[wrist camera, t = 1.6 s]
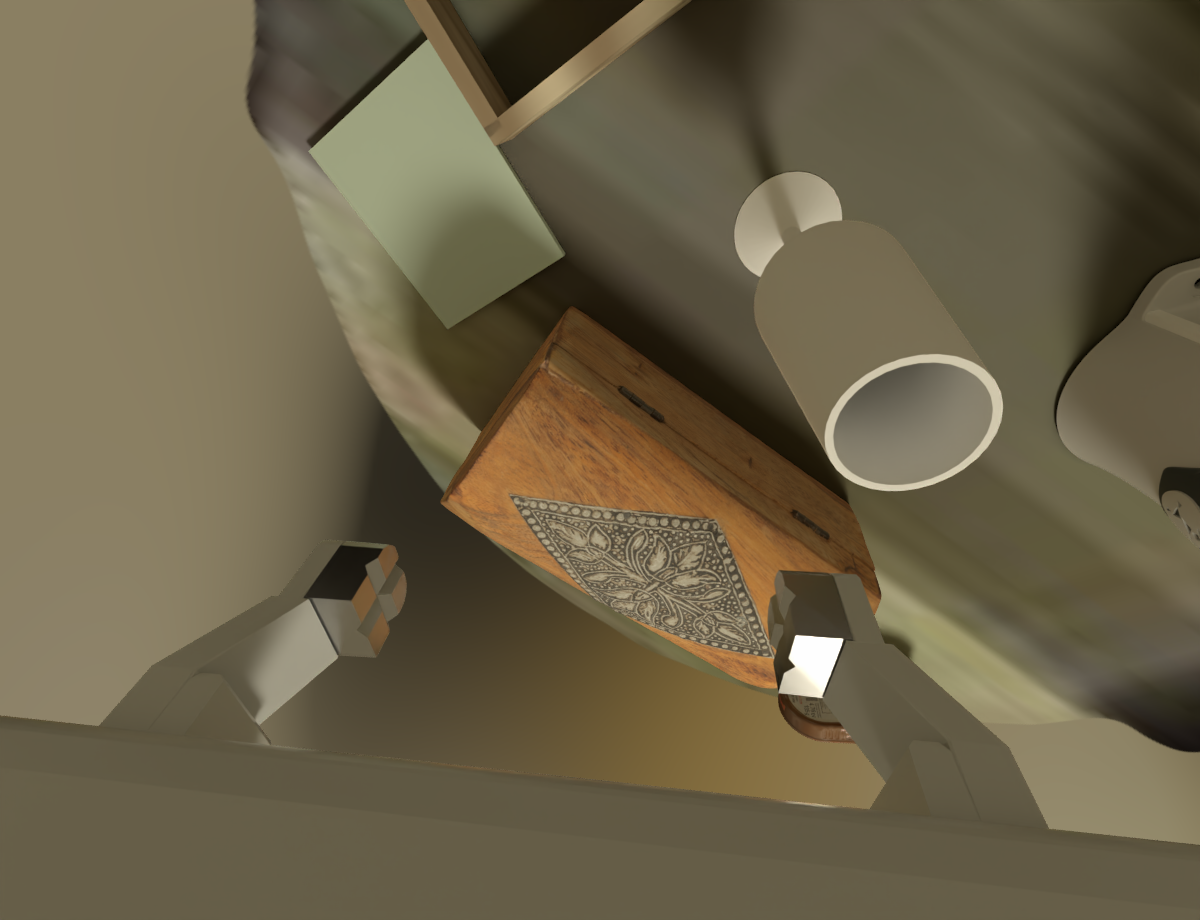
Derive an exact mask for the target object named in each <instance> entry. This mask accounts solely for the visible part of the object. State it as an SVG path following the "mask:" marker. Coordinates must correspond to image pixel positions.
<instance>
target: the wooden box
mask: <svg viewBox="0 0 1200 920" xmlns="http://www.w3.org/2000/svg"><path fill="white" fill-rule="evenodd" d="M441 504H443V505H444V506H445V507H446V508H447V509H449V510H450V511H452V512H453V513H454V514H456V515H457V516H459V517H460V518H461V519H463V520H464V521H466V522H467V523H468V524H470V525H471V526H473V527H474V528H475V529H477V530H478V531H480V532H481V533H483V534H485V535H486V536H488V537H489V538H491V539H493V540H494V541H496V542H498V543H499V544H501V545H503V546H505V547H506V548H508V549H510V550H511V551H513V552H515V553H517V554H518V555H520V556H522V557H524V558H525V559H527V560H529V561H531V562H532V563H534V564H536V565H538V566H539V567H541V568H543V569H545V570H546V571H548V572H550V573H552V574H553V575H555V576H557V577H558V578H560V579H562V580H564V581H565V582H567V583H569V584H570V585H572V586H574V587H576V588H577V589H579V590H581V591H583V592H584V593H586V594H588V595H590V596H591V597H592V598H593V599H594V600H597V601H599V602H601V603H603V604H605V605H607V606H608V607H610V608H612V609H613V610H614V611H616V612H618V613H621V614H623V615H625V616H627V617H629V618H630V619H632V620H634V621H636V622H637V623H639V624H641V625H643V626H645V627H646V628H648V629H650V630H652V631H654V632H655V633H657V634H659V635H661V636H662V637H664V638H666V639H668V640H670V641H671V642H673V643H675V644H677V645H679V646H680V647H682V648H684V649H686V650H687V651H689V652H691V653H693V654H695V655H697V656H698V657H700V658H702V659H704V660H705V661H707V662H709V663H711V664H712V665H714V666H716V667H717V668H719V669H721V670H722V671H724V672H726V673H727V674H729V675H731V676H733V677H735V678H737V679H739V680H741V681H743V682H745V683H748V684H751V685H755V686H758V687H763V688H777V682H776V676H775V671H774V665H773V661H774V658H775V654H776V649H775V648H774V647H773V646H772V645H771V644H770V641H769V634H768V623H767V620H768V607H769V602H770V598H771V597H772V596H773V595H775V594H776V591H775V585H774V581H775V577H776V574H777V572H778V571H779V570H788V571H806V572H824V573H829V574H830V573H840V574H856V575H857V576H858V577H859V578H860V579H861V581H862V584H863V587H864V589H865V592H866V595H867V597H868V600H869V603H870V605H871V608H872V611H873V613H874V615H875V613H876V611H877V608H878V605H879V603H880V600H881V591H880V587H879V584H878V581H877V578H876V575H875V572H874V570H875V567H874V564H873V561H872V559H871V557H870V554H869V551H868V549H867V546H866V544H865V540H864V537H863V534H862V531H861V528H860V525H859V523H858V521H857V519H856V516H855V515H854V513H853V511H852V509H851V507H850V505H849V504H848V503H847V502H846V501H844V500H842V499H841V498H840V497H838V496H837V495H836V494H834V493H833V492H832V491H830V490H829V489H827V488H826V487H825V486H823V485H822V484H821V483H819V482H818V481H817V480H815V479H814V478H812V477H811V476H809V475H807V474H806V473H805V472H804V471H802V470H801V469H800V468H798V467H797V466H795V465H794V464H792V463H791V462H790V461H788V460H787V459H785V458H784V457H783V456H781V455H780V454H778V453H777V452H776V451H774V450H773V449H771V448H770V447H768V446H767V445H766V444H764V443H763V442H762V441H760V440H759V439H758V438H756V437H755V436H753V435H752V434H750V433H749V432H748V431H746V430H745V429H744V428H742V427H741V426H740V425H738V424H737V423H736V422H734V421H733V420H731V419H730V418H729V417H727V416H726V415H724V414H723V413H721V412H720V411H719V410H718V409H716V408H715V407H714V406H712V405H711V404H710V403H708V402H707V401H705V400H704V399H702V398H701V397H700V396H698V395H697V394H696V393H694V392H692V391H691V390H690V389H688V388H687V387H686V386H684V385H683V384H682V383H680V382H679V381H678V380H676V379H675V378H673V377H672V376H671V375H669V374H668V373H666V372H665V371H664V370H662V369H661V368H660V367H658V366H657V365H655V364H654V363H653V362H651V361H650V360H649V359H647V358H646V357H644V356H643V355H642V354H640V353H639V352H638V351H636V350H635V349H634V348H632V347H631V346H629V345H628V344H626V343H625V342H624V341H622V340H621V339H619V338H618V337H617V336H615V335H614V334H613V333H611V332H610V331H608V330H607V329H606V328H604V327H603V326H602V325H600V324H599V323H597V322H596V321H594V320H593V319H592V318H590V317H589V316H587V315H586V314H584V313H583V312H581V311H580V310H578V309H576V308H575V307H573V306H570V307H569V308H568V309H567V311H566V312H565V313H564V315H563V316H562V318H561V319H560V320H559V322H558V323H557V325H556V326H555V327H554V329H553V330H552V332H551V333H550V335H549V336H548V337H547V339H546V340H545V341H544V343H543V344H542V346H541V347H540V348H539V350H538V351H537V353H536V354H535V355H534V357H533V358H532V360H531V361H530V363H529V364H528V365H527V367H526V368H525V370H524V371H523V373H522V374H521V376H520V377H519V378H518V380H517V381H516V383H515V384H514V386H513V387H512V389H511V390H510V392H509V393H508V394H507V396H506V397H505V399H504V400H503V401H502V403H501V404H500V406H499V407H498V409H497V410H496V412H495V413H494V415H493V416H492V418H491V419H490V421H489V422H488V423H487V425H486V426H485V427H484V429H483V430H482V432H481V433H480V435H479V437H478V439H477V441H476V443H475V444H474V446H473V448H472V449H471V451H470V453H469V455H468V456H467V458H466V460H465V461H464V463H463V464H462V465H461V467H460V468H459V470H458V471H457V472H456V474H455V475H454V477H453V479H452V480H451V482H450V484H449V486H448V488H447V490H446V492H445V494H444V496H443V498H442V500H441Z"/></svg>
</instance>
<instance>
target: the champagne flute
mask: <svg viewBox="0 0 1200 920" xmlns="http://www.w3.org/2000/svg"><path fill="white" fill-rule="evenodd" d="M734 240H735V246H736V250H737V253H738V255H739V258H740V259H741V261H742V262H743V264H744V265H745V266H746V267H747V268H748V269H749V270H750V271H751V272H753V273H754V274H756V275H758V276H759V277H760V279H759V282H758V285H757V289H756V293H755V298H754V315H755V322H756V325H757V328H758V330H759V333H760V335H761V337H762V339H763V341H764V343H765V344H766V346H767V348H768V350H769V352H770V353H771V355H772V357H773V359H774V361H775V362H776V364H777V366H778V368H779V370H780V371H781V373H782V375H783V377H784V379H785V380H786V382H787V384H788V386H789V388H790V389H791V391H792V393H793V395H794V397H795V398H796V400H797V402H798V404H799V406H800V407H801V409H802V411H803V413H804V415H805V416H806V418H807V420H808V422H809V424H810V425H811V427H812V429H813V431H814V433H815V434H816V436H817V438H818V440H819V442H820V443H821V445H822V447H823V449H824V451H825V452H826V454H827V456H828V458H829V460H830V461H831V463H832V464H833V465H834V467H835V468H836V470H837V471H839V472H840V473H841V474H842V475H843V476H844V477H845V478H847V479H849V480H851V481H852V482H854V483H856V484H858V485H861V486H864V487H867V488H871V489H877V490H883V491H904V490H911V489H918V488H921V487H925V486H928V485H932V484H935V483H937V482H940V481H942V480H944V479H947V478H949V477H951V476H953V475H954V474H956V473H958V472H959V471H961V470H963V469H964V468H966V467H967V466H968V465H969V464H971V463H972V462H973V461H974V460H976V459H977V458H978V457H979V456H980V455H981V454H982V452H983V451H984V450H985V449H986V448H987V447H988V446H989V444H990V443H991V441H992V439H993V438H994V436H995V435H996V433H997V430H998V428H999V425H1000V422H1001V419H1002V411H1003V402H1002V396H1001V392H1000V390H999V388H998V386H997V384H996V382H995V380H994V378H993V377H992V375H991V374H990V373H989V371H988V370H987V368H986V367H985V365H984V364H983V362H982V361H981V360H980V358H979V357H978V355H977V354H976V352H975V351H974V349H973V348H972V347H971V345H970V344H969V342H968V341H967V339H966V338H965V336H964V335H963V334H962V332H961V331H960V329H959V328H958V326H957V325H956V323H955V322H954V321H953V319H952V318H951V316H950V315H949V313H948V312H947V310H946V309H945V308H944V306H943V305H942V303H941V302H940V300H939V299H938V297H937V296H936V295H935V293H934V292H933V290H932V289H931V287H930V286H929V284H928V283H927V282H926V280H925V279H924V277H923V276H922V274H921V273H920V271H919V270H918V269H917V267H916V266H915V264H914V263H913V261H912V260H911V258H910V257H909V256H908V254H907V253H906V251H905V250H904V248H903V247H902V246H901V244H900V243H899V242H898V241H897V240H896V239H895V238H894V237H893V236H892V235H891V234H890V233H888V232H886V231H885V230H883V229H882V228H880V227H878V226H875V225H872V224H870V223H867V222H861V221H853V220H842V211H841V206H840V202H839V198H838V197H837V195H836V193H835V191H834V189H833V188H832V187H831V186H830V185H829V184H828V183H827V182H826V181H825V180H823V179H822V178H820V177H818V176H816V175H813V174H810V173H807V172H798V171H796V172H786V173H783V174H780V175H776V176H774V177H772V178H770V179H768V180H766V181H765V182H763V183H762V184H761V185H759V186H758V187H757V188H756V189H755V190H754V191H753V192H752V193H751V194H750V195H749V196H748V197H747V199H746V201H745V202H744V204H743V205H742V207H741V209H740V211H739V214H738V216H737V219H736V224H735V230H734Z"/></svg>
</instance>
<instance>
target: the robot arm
mask: <svg viewBox="0 0 1200 920" xmlns="http://www.w3.org/2000/svg"><path fill="white" fill-rule="evenodd" d="M1199 278H1200V258H1199V259H1195V260H1192V261H1188V262H1184V263H1180V264H1177V265H1174V266H1171V267H1169V268H1166V269H1165V270H1163V271H1161V272H1160V273H1159V274H1157V275H1156V276H1155V277H1154V278H1153V279H1152V280H1151V281H1150V282H1149V284H1148V285H1147V286H1146V288H1145V289H1144V290H1143V292H1142V293H1141V295H1140V296H1139V298H1138V300H1137V301H1136V303H1135V304H1134V306H1133V308H1132V309H1131V311H1130V313H1129V314H1128V316H1127V317H1126V318H1125V319H1124V320H1123V321H1122V322H1121V323H1120V324H1119V325H1118V326H1117V327H1116V328H1115V329H1114V330H1113V331H1112V332H1111V333H1110V334H1108V335H1107V336H1106V337H1105V338H1104V339H1103V340H1102V341H1101V342H1099V343H1098V344H1097V345H1096V346H1095V347H1094V348H1093V349H1092V350H1091V351H1090V352H1089V353H1088V354H1087V355H1086V356H1085V358H1084V359H1083V360H1082V361H1081V362H1080V364H1079V365H1078V366H1077V367H1076V369H1075V370H1074V372H1073V373H1072V375H1071V376H1070V378H1069V379H1068V381H1067V383H1066V385H1065V387H1064V389H1063V391H1062V394H1061V397H1060V400H1059V403H1058V408H1057V428H1058V432H1059V435H1060V438H1061V440H1062V441H1063V443H1064V444H1065V446H1066V447H1067V448H1068V449H1069V451H1071V452H1072V453H1073V454H1074V455H1075V456H1077V457H1078V458H1080V459H1082V460H1083V461H1085V462H1087V463H1090V464H1092V465H1095V466H1097V467H1099V468H1102V469H1104V470H1106V471H1108V472H1109V473H1111V474H1113V475H1115V476H1117V477H1119V478H1120V479H1122V480H1124V481H1125V482H1127V483H1128V484H1130V485H1132V486H1133V487H1135V488H1136V489H1138V490H1139V491H1141V492H1142V493H1144V494H1145V495H1147V496H1148V497H1150V498H1151V499H1152V500H1154V501H1155V502H1157V503H1158V504H1159V505H1160V506H1162V508H1163V510H1164V511H1165V513H1166V514H1167V515H1168V517H1169V518H1170V519H1171V521H1172V522H1173V523H1174V524H1175V525H1176V527H1177V528H1178V529H1179V530H1180V531H1181V532H1182V533H1183V534H1184V535H1185V536H1186V537H1187V538H1188V539H1189V540H1190V541H1191V542H1192V543H1193V544H1194V545H1195V546H1196V547H1198V548H1199V549H1200V282H1198V283H1197V284H1195V282H1196V281H1197V280H1198V279H1199ZM1194 284H1195V285H1194ZM398 558H399V557H398V554H397V552H396V549H395V547H394V546H391V545H385V544H374V543H363V542H352V541H337V540H324V541H322V542H320V543H319V544H318V545H317V546H316V547H315V549H314V550H313V551H312V553H311V554H310V555H309V557H308V558H307V559H306V561H305V562H304V563H303V565H302V566H301V567H300V568H299V570H298V571H297V573H296V574H295V575H294V576H293V578H292V579H291V580H290V582H289V583H288V584H287V586H286V587H285V588H284V589H283V591H282V592H281V593H280V595H279V596H271V597H269V598H268V599H266V600H264V601H262V602H261V603H259V604H257V605H255V606H254V607H252V608H250V609H249V610H247V611H245V612H243V613H242V614H240V615H238V616H237V617H235V618H233V619H231V620H230V621H228V622H226V623H225V624H223V625H221V626H219V627H218V628H216V629H214V630H212V631H211V632H209V633H207V634H206V635H204V636H202V637H200V638H199V639H197V640H195V641H193V642H192V643H190V644H188V645H187V646H185V647H183V648H181V649H180V650H178V651H176V652H175V653H173V654H171V655H169V656H168V657H166V658H164V659H163V660H161V661H159V662H157V663H156V664H154V665H152V666H151V668H149V670H148V671H147V672H146V673H145V674H144V675H143V676H142V678H141V679H140V680H139V681H138V682H137V683H136V684H135V686H134V687H133V688H132V689H131V690H130V691H129V692H128V693H127V695H126V696H125V697H124V698H123V699H122V700H121V701H120V703H119V704H118V705H117V706H116V707H115V708H114V709H113V711H112V712H111V713H110V714H109V715H108V716H107V717H106V719H105V720H104V721H103V722H102V723H101V724H100V725H99V726H92V725H83V724H73V723H65V722H55V721H46V720H37V719H28V718H18V717H10V716H0V920H1200V845H1195V844H1186V843H1175V842H1167V841H1158V840H1148V839H1139V838H1130V837H1120V836H1110V835H1102V834H1092V833H1083V832H1074V831H1065V830H1056V829H1049V828H1048V826H1047V824H1046V821H1045V820H1044V817H1043V815H1042V814H1041V811H1040V810H1039V807H1038V805H1037V803H1036V801H1035V799H1034V797H1033V795H1032V793H1031V791H1030V789H1029V787H1028V785H1027V783H1026V781H1025V779H1024V777H1023V775H1022V773H1021V771H1020V769H1019V767H1018V765H1017V763H1016V761H1015V759H1014V757H1013V755H1012V753H1011V751H1010V749H1009V747H1008V746H1007V745H1006V744H1005V743H1003V742H1002V741H1001V740H1000V739H999V738H998V737H997V736H996V735H994V734H993V733H992V732H991V731H990V730H989V729H988V728H987V727H985V726H984V725H983V724H982V723H981V722H980V721H979V720H978V719H976V718H975V717H974V716H973V715H972V714H971V713H970V712H969V711H967V710H966V709H965V708H964V707H963V706H962V705H961V704H960V703H958V702H957V701H956V700H955V699H954V698H953V697H952V696H951V695H949V694H948V693H947V692H946V691H945V690H944V689H943V688H942V687H940V686H939V685H938V684H937V683H936V682H935V681H934V680H933V679H931V678H930V677H929V676H928V675H927V674H926V673H925V672H923V671H922V670H921V669H920V668H919V667H918V666H917V665H916V664H914V663H913V662H912V661H911V660H910V659H909V658H908V657H907V656H905V655H904V654H903V653H902V652H901V651H900V650H899V649H898V648H896V647H895V646H894V645H893V644H885V643H884V640H883V637H882V635H881V632H880V629H879V627H878V624H877V621H876V619H875V616H874V613H873V611H872V608H871V605H870V603H869V600H868V597H867V595H866V592H865V589H864V587H863V584H862V581H861V579H860V578H859V577H858V576H857V575H856V574H840V573H830V574H829V573H824V572H806V571H788V570H779V571H778V572H777V574H776V577H775V581H774V585H775V591H776V594H775V595H773V596H772V597H771V598H770V602H769V607H768V620H767V623H768V634H769V641H770V644H771V645H772V646H773V647H774V648H775V649H776V654H775V658H774V661H773V665H774V671H775V676H776V682H777V688H778V693H782V694H791V695H800V696H808V697H817V698H823V701H824V703H825V704H826V705H827V707H828V708H829V709H830V710H831V712H832V713H833V714H834V716H835V717H836V718H837V720H838V721H839V722H840V723H841V725H842V726H843V727H844V729H845V730H846V731H847V733H848V734H849V735H850V736H851V738H852V739H853V740H854V742H855V743H856V744H857V745H858V747H859V748H860V749H861V751H862V752H863V753H864V755H865V756H866V757H867V758H868V760H869V761H870V762H871V764H872V765H873V766H874V768H875V769H876V770H877V772H878V773H879V774H880V775H881V777H882V778H883V779H884V781H885V782H886V784H885V785H884V787H883V789H882V790H881V792H880V794H879V795H878V797H877V798H876V800H875V801H874V803H873V805H872V806H871V808H870V809H860V808H851V807H842V806H833V805H823V804H814V803H805V802H796V801H786V800H777V799H767V798H758V797H749V796H739V795H731V794H721V793H712V792H702V791H694V790H684V789H675V788H666V787H657V786H648V785H637V784H629V783H619V782H610V781H602V780H591V779H583V778H574V777H565V776H564V777H563V776H556V775H546V774H537V773H528V772H518V771H508V770H500V769H490V768H481V767H471V766H462V765H452V764H443V763H433V762H425V761H415V760H406V759H397V758H388V757H379V756H369V755H360V754H351V753H341V752H332V751H323V750H313V749H304V748H295V747H285V746H277V745H271V741H270V739H269V738H268V737H267V735H266V734H265V733H264V732H263V730H262V729H261V727H260V726H259V725H260V724H261V723H262V722H263V721H264V720H266V719H267V718H268V717H269V716H270V715H271V714H273V713H274V712H275V711H276V710H277V709H278V708H279V707H281V706H282V705H283V704H284V703H285V702H287V701H288V700H289V699H290V698H291V697H293V696H294V695H295V694H296V693H297V692H298V691H300V690H301V689H302V688H303V687H304V686H305V685H307V684H308V683H309V682H310V681H311V680H312V679H314V678H315V677H316V676H317V675H318V674H319V673H321V672H322V671H323V670H324V669H325V668H326V667H327V666H329V665H330V664H331V663H332V662H333V661H335V660H336V659H337V658H338V655H344V656H360V657H361V656H362V657H377V655H378V653H379V651H380V649H381V647H382V645H383V643H384V641H385V639H386V637H387V636H388V633H389V632H390V630H389V626H388V623H387V622H388V621H389V620H391V619H392V618H393V617H395V616H396V615H397V614H399V612H400V610H401V608H402V606H403V603H404V600H405V595H406V590H407V588H406V578H405V575H404V572H403V571H402V570H401V569H400V568H399V567H397V566H396V565H395V563H396V561H397V559H398Z"/></svg>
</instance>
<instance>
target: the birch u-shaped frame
mask: <svg viewBox="0 0 1200 920" xmlns="http://www.w3.org/2000/svg"><path fill="white" fill-rule="evenodd" d="M404 1H405V3H406V4H407V6H408V8H409V9H410V11H411V12H412V14H413V16H414V17H415V19H416V20H417V22H418V24H419V25H420V27H421V28H422V30H423V32H424V33H425V35H426V37H427V38H428V40H429V41H430V43H431V45H432V46H433V48H434V49H435V51H436V53H437V54H438V56H439V57H440V59H441V61H442V62H443V64H444V65H445V67H446V69H447V70H448V72H449V74H450V75H451V77H452V78H453V80H454V82H455V83H456V85H457V86H458V88H459V90H460V91H461V93H462V94H463V96H464V98H465V99H466V101H467V103H468V104H469V106H470V107H471V109H472V111H473V112H474V114H475V115H476V117H477V119H478V120H479V122H480V123H481V125H482V127H483V128H484V130H485V131H486V133H487V135H488V136H489V138H490V140H491V141H492V143H493V144H494V146H497V145H499V144H501V143H504V142H506V141H508V140H511V139H513V138H514V137H515V136H517V135H518V134H519V133H521V132H522V131H523V130H525V129H526V128H527V127H528V126H530V125H531V124H532V123H534V122H535V121H536V120H538V119H539V118H540V117H541V116H543V115H544V114H545V113H547V112H548V111H549V110H550V109H552V108H553V107H554V106H556V105H557V104H558V103H560V102H561V101H562V100H563V99H565V98H566V97H567V96H569V95H570V94H571V93H573V92H574V91H575V90H576V89H578V88H579V87H580V86H582V85H583V84H584V83H585V82H587V81H588V80H589V79H591V78H592V77H593V76H595V75H596V74H597V73H598V72H600V71H601V70H602V69H604V68H605V67H606V66H608V65H609V64H610V63H611V62H613V61H614V60H615V59H617V58H618V57H619V56H620V55H622V54H623V53H624V52H626V51H627V50H628V49H630V48H631V47H632V46H633V45H635V44H636V43H637V42H639V41H640V40H641V39H643V38H644V37H645V36H646V35H648V34H649V33H650V32H652V31H653V30H654V29H655V28H657V27H658V26H659V25H661V24H662V23H663V22H665V21H666V20H667V19H668V18H670V17H671V16H672V15H674V14H675V13H676V12H678V11H679V10H680V9H681V8H683V7H684V6H685V5H687V4H688V3H689V2H690V1H692V0H644V1H642V2H641V3H640V4H639V5H637V6H636V7H635V8H634V9H632V10H631V11H630V12H629V13H627V14H626V15H625V16H624V17H623V18H621V19H620V20H619V21H618V22H616V23H615V24H614V25H613V26H611V27H610V28H609V29H608V30H606V31H605V32H604V33H603V34H601V35H600V36H599V37H598V38H596V39H595V40H594V41H593V42H591V43H590V44H589V45H588V46H586V47H585V48H584V49H583V50H581V51H580V52H579V53H578V54H576V55H575V56H574V57H573V58H571V59H570V60H569V61H568V62H566V63H565V64H564V65H563V66H561V67H560V68H559V69H558V70H556V71H555V72H554V73H553V74H551V75H550V76H549V77H548V78H547V79H545V80H544V81H543V82H542V83H540V84H539V85H538V86H537V87H535V88H534V89H533V90H532V91H530V92H529V93H528V94H527V95H525V96H524V97H523V98H522V99H520V100H519V101H518V102H517V103H515V104H514V105H513V106H511V104H510V102H509V101H508V99H507V97H506V95H505V94H504V92H503V90H502V89H501V87H500V85H499V84H498V82H497V80H496V78H495V77H494V75H493V73H492V72H491V70H490V68H489V66H488V65H487V63H486V61H485V60H484V58H483V56H482V55H481V53H480V51H479V49H478V48H477V46H476V44H475V43H474V41H473V39H472V38H471V36H470V34H469V32H468V31H467V29H466V27H465V26H464V24H463V22H462V21H461V19H460V17H459V15H458V14H457V12H456V10H455V9H454V7H453V5H452V3H451V2H450V0H404Z"/></svg>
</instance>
